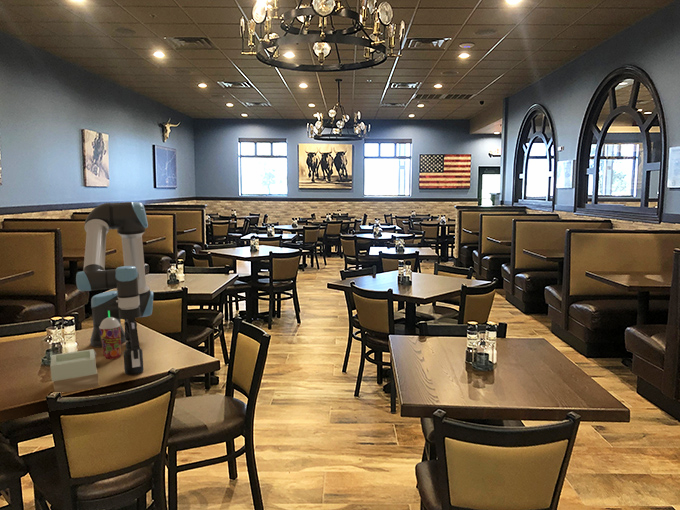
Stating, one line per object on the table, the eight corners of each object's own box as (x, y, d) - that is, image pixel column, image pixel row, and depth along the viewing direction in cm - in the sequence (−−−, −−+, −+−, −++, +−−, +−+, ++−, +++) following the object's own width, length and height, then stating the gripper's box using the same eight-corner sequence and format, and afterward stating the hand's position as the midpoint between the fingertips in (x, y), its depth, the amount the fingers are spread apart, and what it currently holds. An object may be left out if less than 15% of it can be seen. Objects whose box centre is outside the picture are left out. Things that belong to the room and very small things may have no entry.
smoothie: (105, 362, 213) (101, 314, 210) (99, 357, 219) (95, 311, 216) (126, 357, 218) (122, 310, 215) (119, 352, 224) (115, 307, 222)
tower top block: (52, 369, 191) (51, 355, 191) (94, 363, 198) (93, 349, 197) (51, 381, 179) (50, 366, 178) (96, 374, 185) (95, 359, 184)
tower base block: (54, 383, 191) (52, 370, 191) (96, 375, 198) (94, 363, 198) (54, 395, 179) (53, 381, 179) (99, 387, 186) (98, 373, 185)
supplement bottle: (137, 376, 195) (134, 345, 194) (121, 375, 197) (118, 344, 195) (147, 369, 202) (145, 339, 200) (131, 369, 203) (129, 339, 202)
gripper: (114, 302, 205) (118, 354, 208) (122, 315, 183) (127, 373, 186) (134, 300, 209) (138, 351, 211) (145, 312, 187) (149, 369, 190)
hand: (133, 361), depth 199 cm, fingers open, 13 cm apart
